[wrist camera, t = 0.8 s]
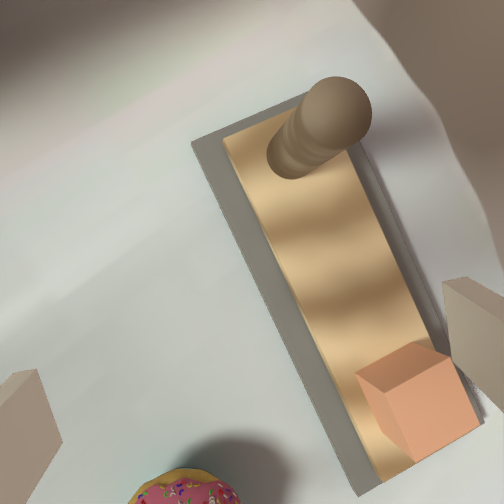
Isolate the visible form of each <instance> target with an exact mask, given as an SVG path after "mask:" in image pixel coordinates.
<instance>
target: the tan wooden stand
mask: <svg viewBox="0 0 504 504" xmlns="http://www.w3.org/2000/svg"><path fill="white" fill-rule="evenodd" d="M371 119H372V109H371V104H370V101H369V98H368V96H367V94H366V93H365V91H364V90H363V89H362V88H361V87H360V86H359V85H358V84H357V83H355V82H354V81H352V80H350V79H347V78H344V77H328V78H325V79H323V80H321V81H319V82H318V83H316V84H315V85H314V86H313V87H312V88H311V89H310V91H309V92H308V93H307V95H306V96H305V97H304V98H303V100H302V101H301V102H300V103H299V105H298V106H297V107H295V108H292V109H290V110H288V111H285V112H283V113H281V114H279V115H276V116H274V117H272V118H269V119H267V120H265V121H263V122H260V123H258V124H256V125H253V126H251V127H249V128H246V129H244V130H242V131H240V132H237V133H235V134H233V135H230V136H228V137H226V138H223V141H222V144H223V146H224V148H225V150H226V152H227V154H228V157H229V159H230V161H231V163H232V165H233V167H234V169H235V172H236V174H237V176H238V178H239V180H240V182H241V185H242V187H243V189H244V191H245V193H246V195H247V197H248V200H249V202H250V204H251V206H252V208H253V210H254V212H255V215H256V217H257V219H258V221H259V223H260V225H261V228H262V230H263V232H264V234H265V236H266V238H267V240H268V243H269V245H270V247H271V249H272V251H273V253H274V255H275V258H276V260H277V262H278V264H279V266H280V268H281V271H282V273H283V275H284V277H285V279H286V281H287V283H288V286H289V288H290V290H291V292H292V294H293V296H294V298H295V301H296V303H297V305H298V307H299V309H300V311H301V314H302V316H303V318H304V320H305V322H306V324H307V326H308V329H309V331H310V333H311V335H312V337H313V339H314V341H315V344H316V346H317V348H318V350H319V352H320V354H321V357H322V359H323V361H324V363H325V365H326V367H327V369H328V372H329V374H330V376H331V378H332V380H333V382H334V384H335V387H336V389H337V391H338V393H339V395H340V397H341V400H342V402H343V404H344V406H345V408H346V410H347V412H348V415H349V417H350V419H351V421H352V423H353V425H354V428H355V430H356V432H357V434H358V436H359V438H360V440H361V443H362V445H363V447H364V449H365V451H366V453H367V455H368V458H369V460H370V462H371V464H372V466H373V468H374V471H375V473H376V475H377V476H378V477H379V478H380V479H381V481H382V482H383V483H384V482H386V481H387V480H389V479H391V478H393V477H394V476H396V475H398V474H399V473H401V472H403V471H404V470H406V469H408V468H410V467H411V466H413V465H415V464H416V463H418V462H420V461H421V460H423V459H425V458H427V457H428V456H430V455H432V454H433V453H435V452H437V451H439V450H440V449H442V448H444V447H445V446H447V445H449V444H450V443H452V442H454V441H456V440H457V439H459V438H461V437H462V436H464V435H466V434H467V433H466V434H464V435H462V436H461V437H459V438H457V439H456V440H454V441H452V442H450V443H449V444H447V445H445V446H444V447H442V448H440V449H439V450H437V451H435V452H433V453H432V454H430V455H428V456H427V457H425V458H423V459H421V460H420V461H418V462H415V461H413V460H412V459H411V458H410V457H409V456H408V455H407V454H406V453H405V452H403V451H402V450H401V449H400V448H399V447H398V446H397V445H396V444H394V443H393V442H392V441H391V440H390V439H389V438H388V437H387V436H386V435H384V434H383V433H382V432H381V430H380V427H379V425H378V423H377V421H376V419H375V417H374V414H373V412H372V410H371V408H370V406H369V404H368V401H367V399H366V397H365V395H364V393H363V391H362V388H361V386H360V384H359V382H358V380H357V378H356V375H355V372H356V371H358V370H360V369H362V368H364V367H366V366H368V365H369V364H371V363H373V362H375V361H377V360H379V359H380V358H382V357H384V356H386V355H388V354H390V353H392V352H393V351H395V350H397V349H399V348H401V347H403V346H405V345H406V344H408V343H410V342H413V343H415V344H418V345H420V346H423V347H426V348H428V349H431V350H433V351H436V350H435V348H434V346H433V343H432V341H431V339H430V337H429V335H428V332H427V330H426V328H425V326H424V323H423V321H422V319H421V317H420V314H419V312H418V310H417V308H416V305H415V303H414V301H413V299H412V296H411V294H410V292H409V290H408V287H407V285H406V283H405V281H404V279H403V276H402V274H401V272H400V270H399V267H398V265H397V263H396V261H395V258H394V256H393V254H392V252H391V249H390V247H389V245H388V243H387V240H386V238H385V236H384V234H383V232H382V229H381V227H380V225H379V223H378V220H377V218H376V216H375V214H374V211H373V209H372V207H371V205H370V202H369V200H368V198H367V196H366V193H365V191H364V189H363V187H362V184H361V182H360V180H359V178H358V176H357V173H356V171H355V169H354V167H353V164H352V162H351V160H350V158H349V155H348V153H347V151H346V149H348V148H349V147H351V146H352V145H354V144H355V143H357V142H358V141H360V140H361V139H362V138H363V137H364V135H365V134H366V133H367V131H368V129H369V127H370V124H371ZM469 432H471V431H469ZM469 432H468V433H469Z"/></svg>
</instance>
